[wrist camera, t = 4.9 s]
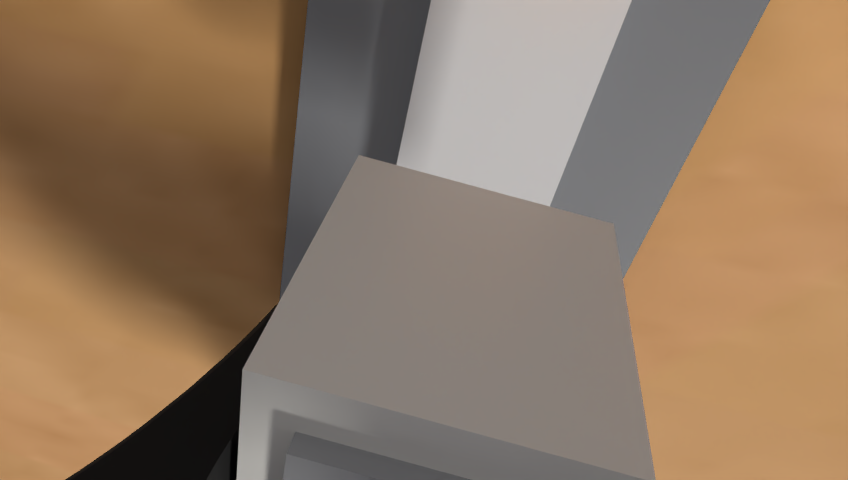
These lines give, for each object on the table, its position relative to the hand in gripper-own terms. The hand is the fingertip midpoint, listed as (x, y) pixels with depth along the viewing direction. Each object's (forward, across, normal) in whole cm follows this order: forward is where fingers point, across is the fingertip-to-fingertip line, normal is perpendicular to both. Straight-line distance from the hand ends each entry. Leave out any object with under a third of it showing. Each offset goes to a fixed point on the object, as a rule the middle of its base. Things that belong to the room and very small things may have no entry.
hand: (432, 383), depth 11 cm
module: (+2, 0, 0) cm, 2 cm away
